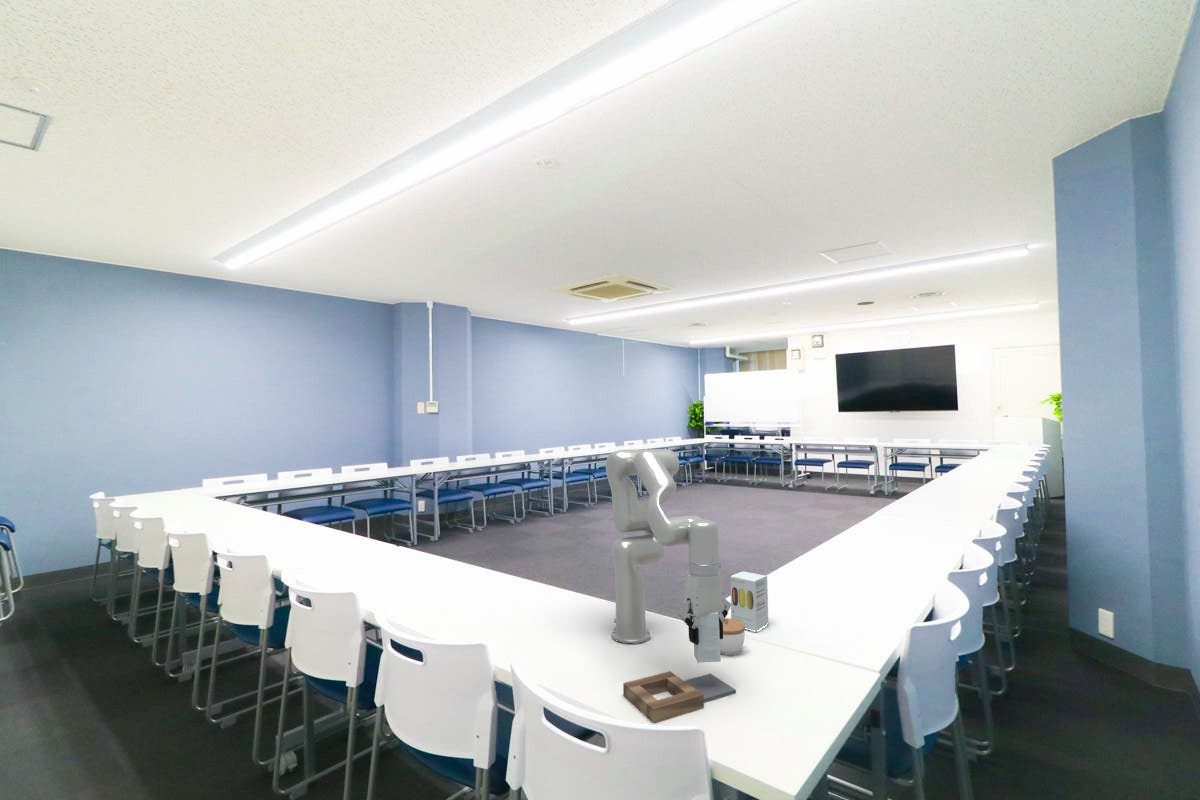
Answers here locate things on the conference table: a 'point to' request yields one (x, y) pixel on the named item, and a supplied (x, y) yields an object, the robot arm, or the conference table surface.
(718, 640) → the skincare box
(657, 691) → the frame
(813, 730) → the conference table surface
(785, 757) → the conference table surface
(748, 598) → the supplement box
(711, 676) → the pad
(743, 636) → the lidded jar
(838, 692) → the conference table surface
